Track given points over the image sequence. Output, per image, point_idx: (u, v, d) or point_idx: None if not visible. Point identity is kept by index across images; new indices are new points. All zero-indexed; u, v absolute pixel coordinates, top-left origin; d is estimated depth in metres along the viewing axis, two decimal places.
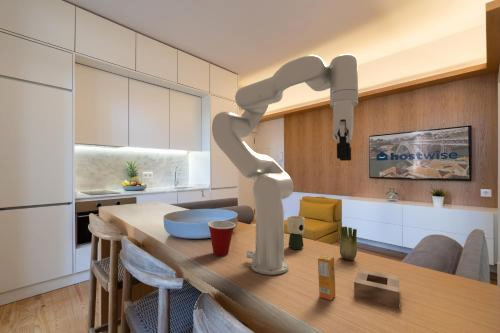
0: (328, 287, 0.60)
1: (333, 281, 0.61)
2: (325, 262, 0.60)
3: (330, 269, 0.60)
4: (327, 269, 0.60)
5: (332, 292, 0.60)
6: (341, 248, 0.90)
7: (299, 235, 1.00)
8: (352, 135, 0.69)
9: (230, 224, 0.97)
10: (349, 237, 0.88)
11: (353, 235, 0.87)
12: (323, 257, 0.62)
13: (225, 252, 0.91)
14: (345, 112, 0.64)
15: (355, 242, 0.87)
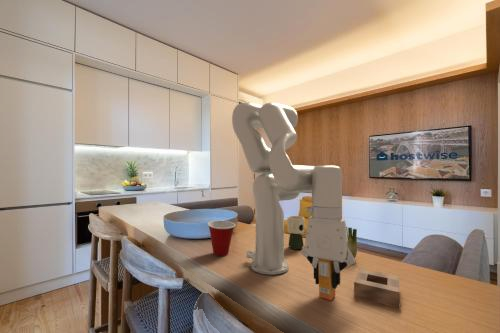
0: (328, 287, 0.60)
1: None
2: (325, 262, 0.60)
3: (330, 269, 0.60)
4: (327, 269, 0.60)
5: (332, 292, 0.60)
6: None
7: (299, 235, 1.00)
8: None
9: (230, 224, 0.97)
10: (349, 237, 0.88)
11: (353, 235, 0.87)
12: None
13: (225, 252, 0.91)
14: None
15: (355, 242, 0.87)
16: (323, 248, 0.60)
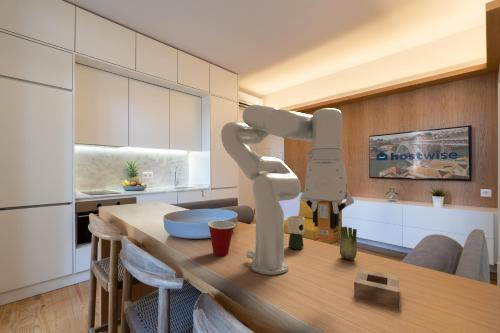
0: (326, 228, 0.61)
1: None
2: (324, 204, 0.61)
3: (329, 211, 0.61)
4: (326, 211, 0.61)
5: (330, 233, 0.61)
6: (341, 248, 0.90)
7: (299, 235, 1.00)
8: None
9: (230, 224, 0.97)
10: (349, 237, 0.88)
11: (353, 235, 0.87)
12: (322, 201, 0.63)
13: (225, 252, 0.91)
14: None
15: (355, 242, 0.87)
16: (322, 189, 0.60)
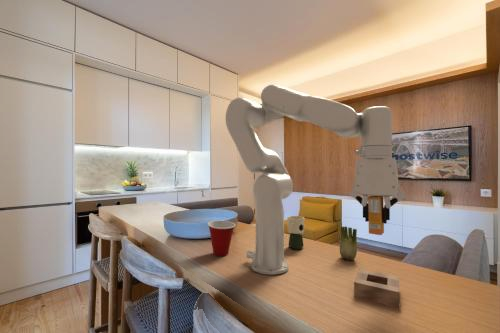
0: (378, 222, 0.62)
1: None
2: (376, 199, 0.63)
3: (381, 206, 0.62)
4: (378, 205, 0.62)
5: (382, 228, 0.63)
6: (341, 248, 0.90)
7: (299, 235, 1.00)
8: None
9: (230, 224, 0.97)
10: (349, 237, 0.88)
11: (353, 235, 0.87)
12: (373, 196, 0.64)
13: (225, 252, 0.91)
14: None
15: (355, 242, 0.87)
16: (374, 185, 0.62)
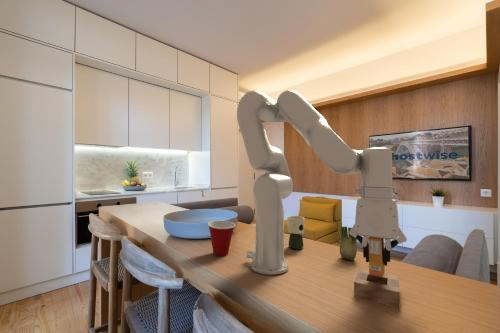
0: (379, 264, 0.62)
1: (383, 259, 0.63)
2: (376, 241, 0.62)
3: (381, 247, 0.62)
4: (379, 247, 0.62)
5: (383, 269, 0.62)
6: (341, 248, 0.90)
7: (299, 235, 1.00)
8: None
9: (230, 224, 0.97)
10: (349, 237, 0.88)
11: None
12: None
13: (225, 252, 0.91)
14: None
15: (355, 242, 0.87)
16: (375, 227, 0.62)
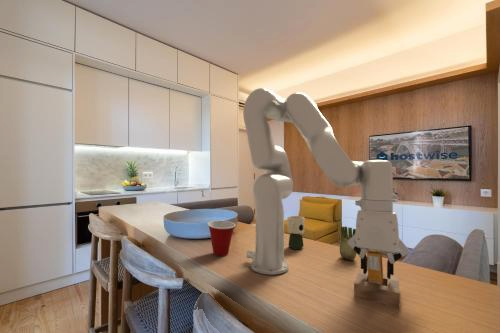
0: (378, 280, 0.62)
1: (382, 274, 0.63)
2: (375, 256, 0.62)
3: (380, 263, 0.62)
4: (377, 263, 0.62)
5: None
6: (341, 248, 0.90)
7: (299, 235, 1.00)
8: None
9: (230, 224, 0.97)
10: (349, 237, 0.88)
11: None
12: (371, 251, 0.64)
13: (225, 252, 0.91)
14: None
15: None
16: (375, 240, 0.62)
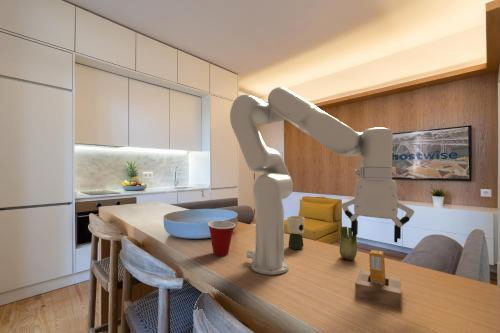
0: (380, 280, 0.62)
1: (384, 275, 0.63)
2: (378, 256, 0.62)
3: (382, 263, 0.62)
4: (380, 263, 0.62)
5: None
6: (341, 248, 0.90)
7: (299, 236, 1.00)
8: None
9: (230, 224, 0.97)
10: (349, 237, 0.88)
11: None
12: (374, 252, 0.64)
13: (225, 252, 0.91)
14: None
15: (355, 242, 0.87)
16: (374, 206, 0.62)
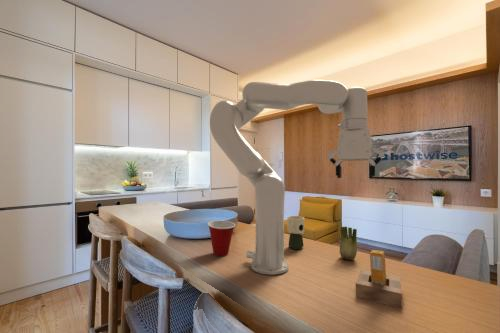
0: (381, 280, 0.62)
1: (385, 274, 0.63)
2: (378, 256, 0.62)
3: (383, 263, 0.62)
4: (380, 263, 0.62)
5: (385, 285, 0.62)
6: (341, 248, 0.90)
7: (299, 235, 1.00)
8: None
9: (230, 224, 0.97)
10: (349, 237, 0.88)
11: (353, 235, 0.87)
12: (374, 251, 0.64)
13: (225, 252, 0.91)
14: None
15: (355, 242, 0.87)
16: (353, 151, 0.76)
